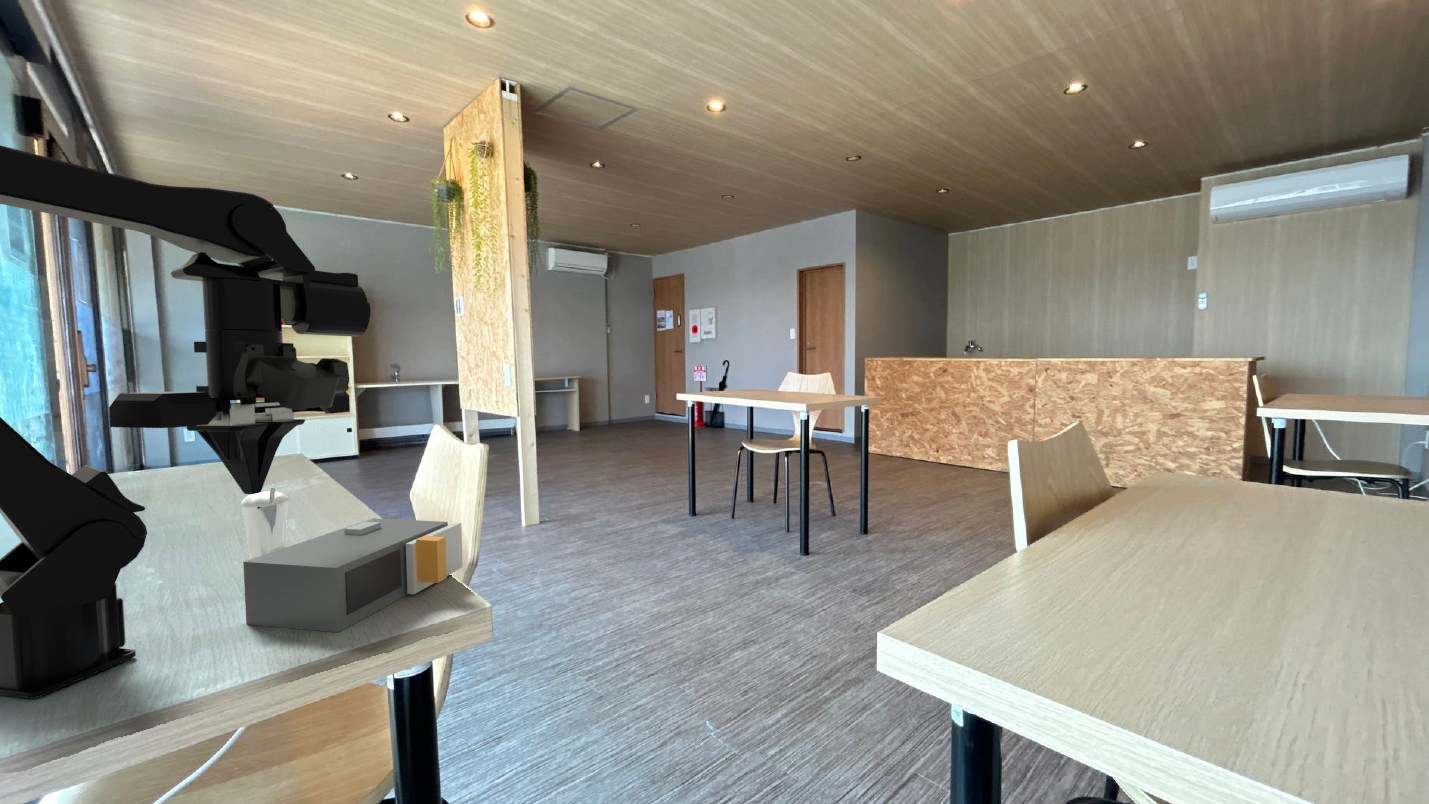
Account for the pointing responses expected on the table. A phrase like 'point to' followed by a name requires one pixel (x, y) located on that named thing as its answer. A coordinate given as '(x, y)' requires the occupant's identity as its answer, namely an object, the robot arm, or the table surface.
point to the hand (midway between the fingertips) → (252, 493)
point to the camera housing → (332, 576)
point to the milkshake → (265, 522)
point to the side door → (433, 557)
